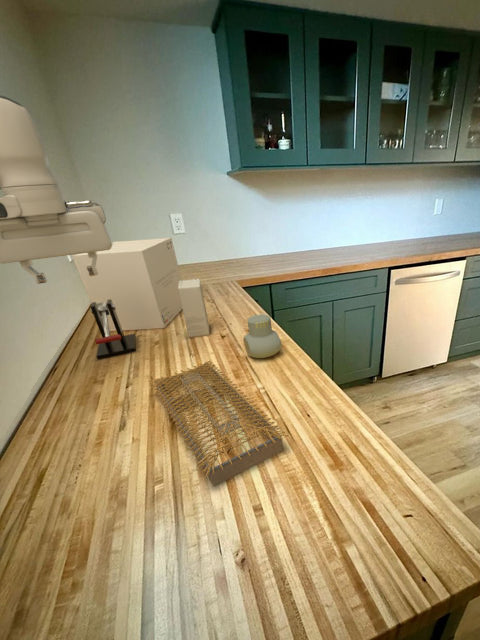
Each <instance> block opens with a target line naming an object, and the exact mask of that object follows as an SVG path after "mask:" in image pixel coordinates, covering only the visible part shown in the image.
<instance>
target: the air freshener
mask: <svg viewBox="0 0 480 640" xmlns="http://www.w3.org/2000/svg"><path fill="white" fill-rule="evenodd" d="M247 327H248V328H247V329H248V333H247V334H246V335H244V337H243V338H242V340H243V345H244V348H245V351H246V353H247V355H248V356H250V357H252V358H255V359H266V358H269V357H272V356H274V355H276V354H277V353H279V352H280V351H281V349H282V347H283V346H282V341H281V338H280V335H279V334H278V333H277V331H275V330H273V328H272V319H271V317H270V316H269V315H268V314H264V313H263V314H254V315H251V316H250V317H248V318H247Z"/></svg>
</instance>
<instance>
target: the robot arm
mask: <svg viewBox="0 0 480 640" xmlns="http://www.w3.org/2000/svg"><path fill="white" fill-rule="evenodd" d="M39 133H40V132H39V131H38V129H37V126H36V125H35V122H34V120H33V118H32V117H31V115H30V113H29V112H28V110H27V108H26V107H25V106H23V105H22V104H21V103H20V102H18V101H16V100H15V99H12V98H10V97H7V96H5V95H1V94H0V190H1V192H2V194H3V196H2V197H0V264H1V265H3V264H10V263H19V264H20V266H21V268H22V269H23V270H24V271H26V272H27V273H28V274H30V275H31V276H33V278H34V280H35V282H36V284H37V285H39V284H46V283H47V282H48V280H47V278H46V275H45V273H44V272H39V271H37V270H36V269H35V268H34V267H33V262H32V261H34V260H41V259H50V258H58V257H64V256H73V255H76V254H82V253H88V256H89V258H92V257H93V260H92V264H91V266H87V270H88V272H89V275H90V276H94V275H98V272H97V269H96V266H95V265H96V261H97V257H98V255H97V251H105V250H110V249H111V247H112V245H113V243H112V242H113V240H112V238H111V236H110V233H109V231H108V229H107V226H106V221H107V218H106V215H105V212H104V209H103V207H102V205H100V204H99V203H97V202H94V201H93V200H89V199H85V200H82V201H81V200H80V201H78V200H77V201H75V200H73V201H65V198H64V195H63V192H62V189H61V187H60V184H59V182H58V180H57V178H56V177H55V176H54V174H53V172H52V170H51V166H50V160H49V155H48V153H47V150H46V147H45V145H44V142H43V140H42V138H41V136H40V134H39Z"/></svg>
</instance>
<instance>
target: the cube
mask: <svg viewBox="0 0 480 640" xmlns="http://www.w3.org/2000/svg"><path fill="white" fill-rule="evenodd" d="M112 243H113V245H112V247H111V249H110V250H105V251H97V255H98V257H97V261H96V265H95V266H96V269H97V272H98V275H94V276H90V275H89V272H88V270H87V266H91V264H92V260H93V257H92V258H89V256H88V253H82V254H74V255H71V256H72V257H71V258H72V260H73V262H74V264H75V267H76V269H77V272H78V274H79V277H80V280H81V282H82V284H83V287H84V289H85V291H86V294H87V297H88V299H89V302H90V305H91V304H92V302H96V304H97V303H102V302H106V304H107V300H110V299H111V300H112V303H113V305H115V308H116V310H115V311H116V314H117V317H118V319H119V322H120V325H121V328H122V330H123V331H135V330H154V329H164V328H166V327H167V326H168V325H169V324H170V323H171V321H173V319H174V318H175V317H176V316H177V315H178V314H179V313H181V311H183V308H182V304H181V300H180V296H179V291H178V284H179V281H183V279H182V275H181V272H180V267H179V264H178V263H179V262H178V259H177V255H176V252H175V248H174V243H173V238H172V237H162V238H147V239H135V240H121V241H119V240H118V241H112ZM97 307H98V306H97ZM109 314H110V312H109ZM101 317H102V316H101ZM107 318H108V324H109V330H110V332H117V331H116V328H115V326H114V323H113V320H112V317H111V315H107Z"/></svg>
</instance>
